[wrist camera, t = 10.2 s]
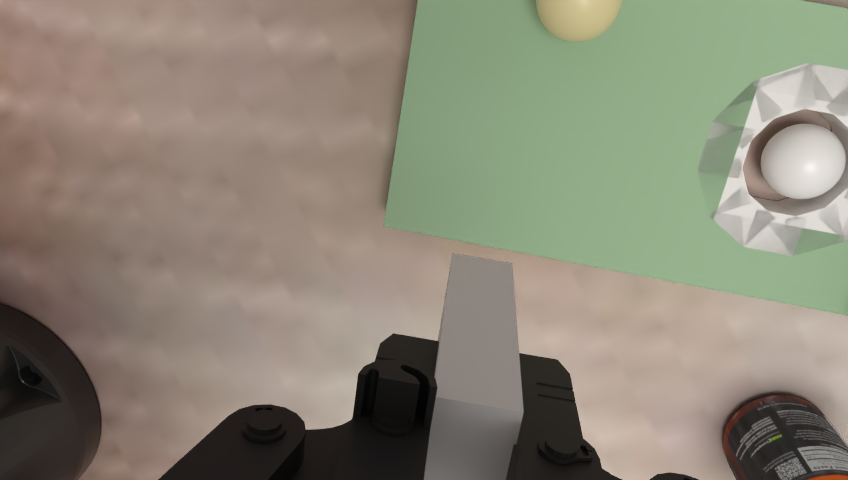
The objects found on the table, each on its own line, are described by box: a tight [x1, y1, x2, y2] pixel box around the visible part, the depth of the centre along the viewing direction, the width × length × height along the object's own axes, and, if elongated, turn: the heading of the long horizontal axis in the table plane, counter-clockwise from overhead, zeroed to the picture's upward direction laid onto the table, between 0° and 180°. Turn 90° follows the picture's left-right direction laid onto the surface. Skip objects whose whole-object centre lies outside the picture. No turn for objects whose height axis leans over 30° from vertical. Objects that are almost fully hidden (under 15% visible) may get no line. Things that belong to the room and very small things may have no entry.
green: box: [384, 0, 848, 315], centre depth 33 cm, size 26×14×6 cm, turn 81°
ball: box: [761, 124, 846, 199], centre depth 34 cm, size 4×4×4 cm
